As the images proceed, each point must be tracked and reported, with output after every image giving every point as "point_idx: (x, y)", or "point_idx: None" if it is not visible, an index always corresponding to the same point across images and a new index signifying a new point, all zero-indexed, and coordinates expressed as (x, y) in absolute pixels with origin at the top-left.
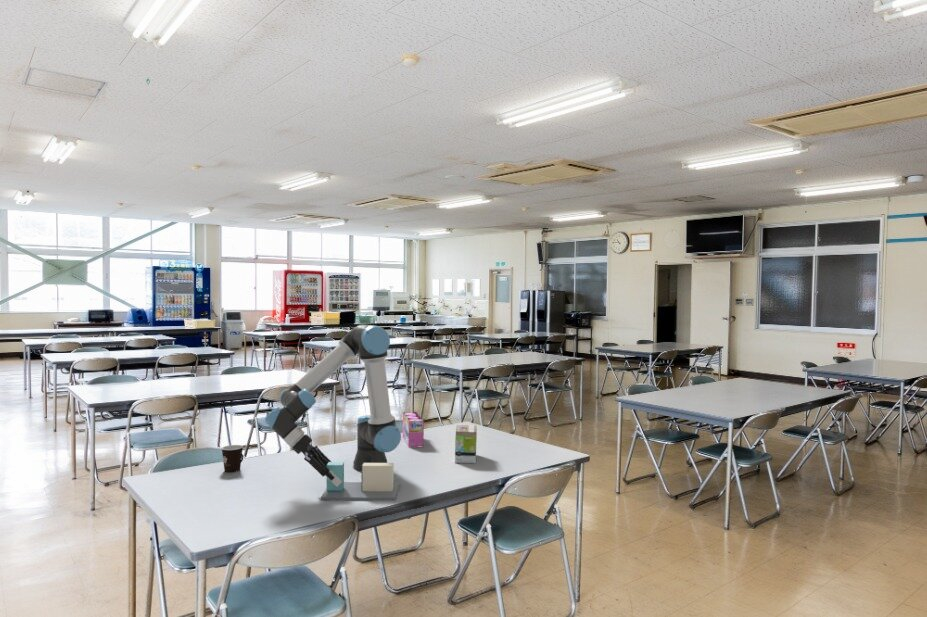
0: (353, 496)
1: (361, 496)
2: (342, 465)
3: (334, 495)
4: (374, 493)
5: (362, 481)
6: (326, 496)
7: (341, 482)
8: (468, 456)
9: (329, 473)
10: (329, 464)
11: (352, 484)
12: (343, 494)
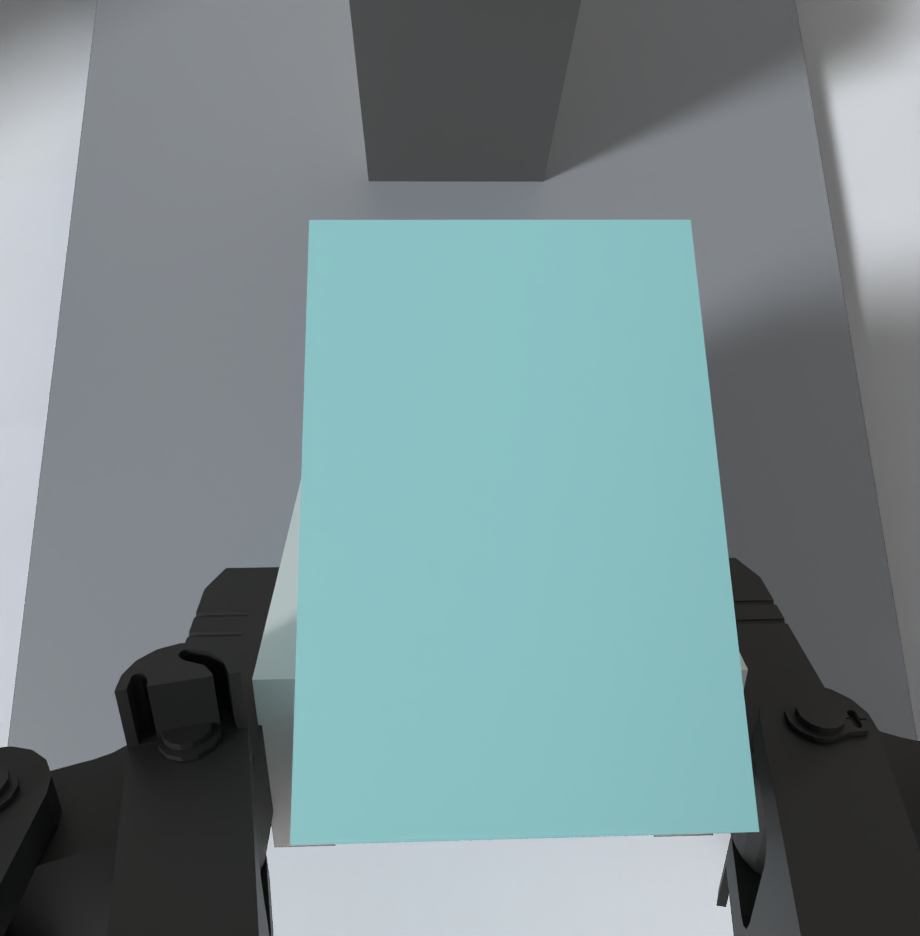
0: (794, 257)
1: (776, 148)
2: (611, 238)
3: (794, 566)
4: (623, 3)
5: (561, 51)
6: (863, 702)
7: None
8: None
9: (794, 674)
10: (663, 718)
11: (191, 371)
12: (724, 425)
